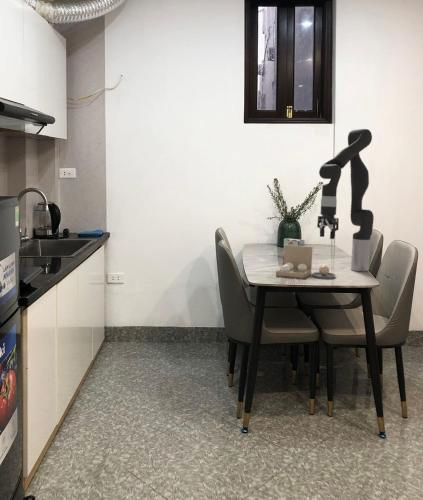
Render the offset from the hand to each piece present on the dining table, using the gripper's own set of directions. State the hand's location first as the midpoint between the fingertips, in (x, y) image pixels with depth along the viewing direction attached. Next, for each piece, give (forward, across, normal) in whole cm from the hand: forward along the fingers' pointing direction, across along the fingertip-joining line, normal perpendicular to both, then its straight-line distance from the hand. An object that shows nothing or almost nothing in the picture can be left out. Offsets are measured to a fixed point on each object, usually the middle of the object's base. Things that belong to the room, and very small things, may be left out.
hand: (327, 237), depth 240 cm
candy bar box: (+20, -25, -4) cm, 32 cm away
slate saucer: (+20, -1, 0) cm, 20 cm away
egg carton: (+20, -10, -12) cm, 26 cm away
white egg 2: (+17, -15, -12) cm, 26 cm away
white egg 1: (+17, -10, -17) cm, 26 cm away
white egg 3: (+17, -10, -7) cm, 21 cm away
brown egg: (+17, -1, 0) cm, 17 cm away
